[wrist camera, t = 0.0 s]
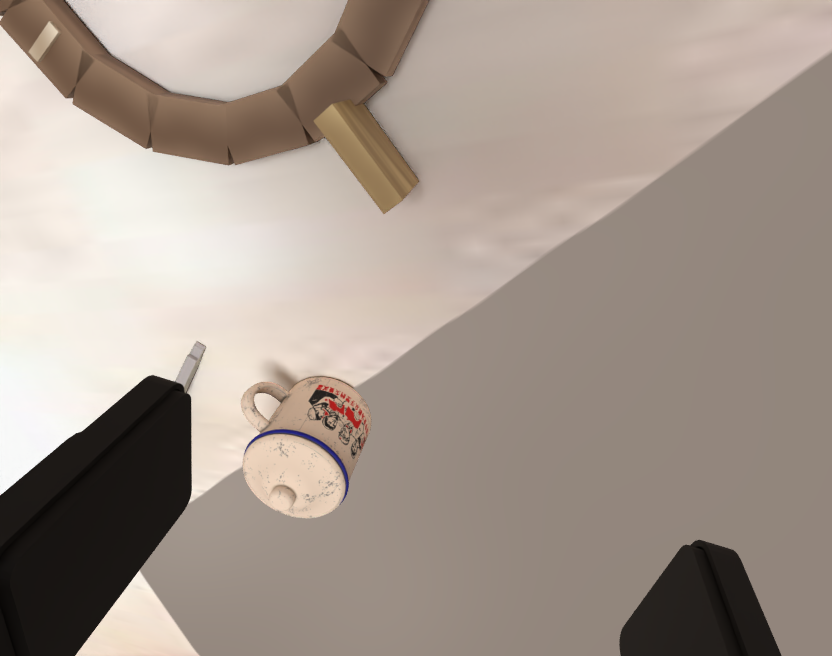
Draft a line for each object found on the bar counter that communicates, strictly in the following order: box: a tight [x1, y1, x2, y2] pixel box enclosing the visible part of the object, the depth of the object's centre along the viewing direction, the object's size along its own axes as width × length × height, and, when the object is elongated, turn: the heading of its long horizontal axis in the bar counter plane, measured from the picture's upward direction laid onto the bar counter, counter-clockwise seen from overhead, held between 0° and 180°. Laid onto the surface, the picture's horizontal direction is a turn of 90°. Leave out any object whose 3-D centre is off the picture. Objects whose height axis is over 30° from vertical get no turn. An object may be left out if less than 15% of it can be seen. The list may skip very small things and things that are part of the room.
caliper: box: [175, 342, 206, 393], centre depth 51 cm, size 20×1×6 cm, turn 151°
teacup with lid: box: [241, 377, 371, 518], centre depth 45 cm, size 12×9×12 cm
